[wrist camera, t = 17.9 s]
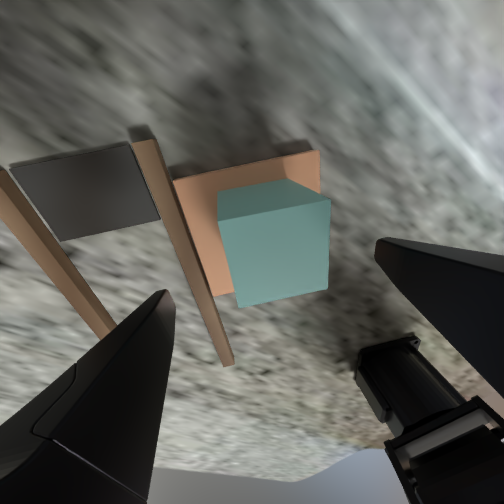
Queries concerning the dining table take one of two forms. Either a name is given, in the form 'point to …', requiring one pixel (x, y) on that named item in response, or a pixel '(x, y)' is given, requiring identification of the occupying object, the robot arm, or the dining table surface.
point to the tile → (207, 184)
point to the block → (274, 240)
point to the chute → (102, 221)
